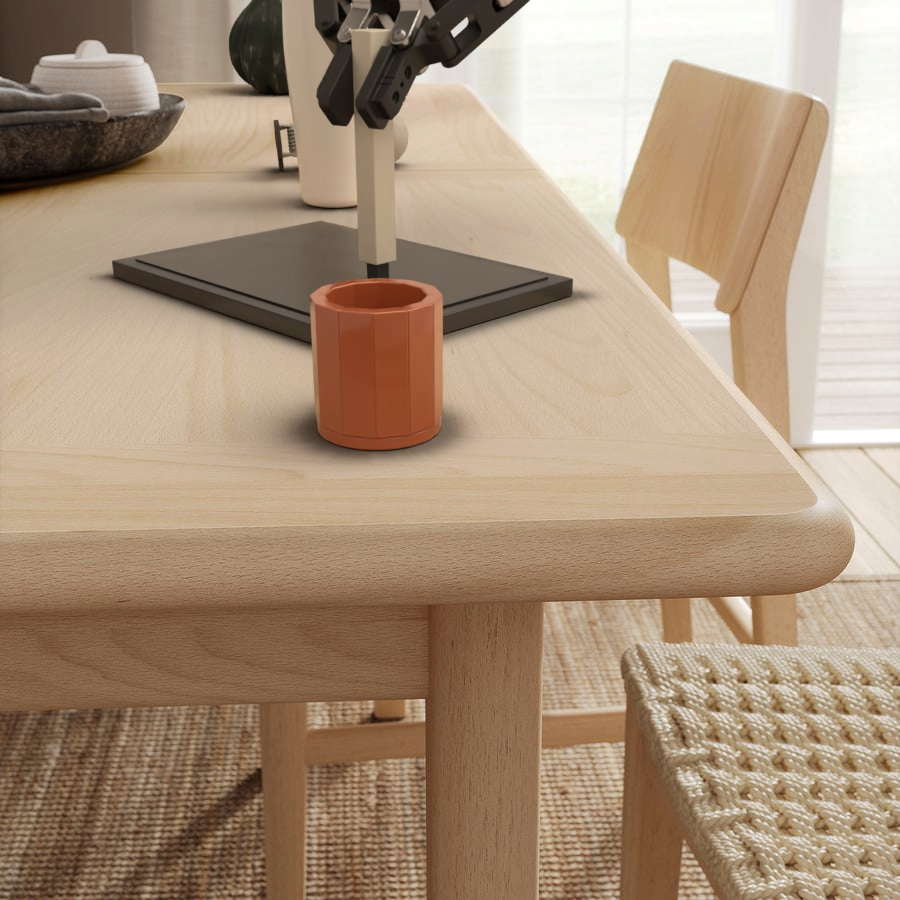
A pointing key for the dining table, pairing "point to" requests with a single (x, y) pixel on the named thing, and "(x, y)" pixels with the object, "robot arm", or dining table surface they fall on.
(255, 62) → the squash
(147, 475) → the dining table surface
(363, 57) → the stylus
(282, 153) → the clip-on lamp
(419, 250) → the tablet
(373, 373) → the pen pot
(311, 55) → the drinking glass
